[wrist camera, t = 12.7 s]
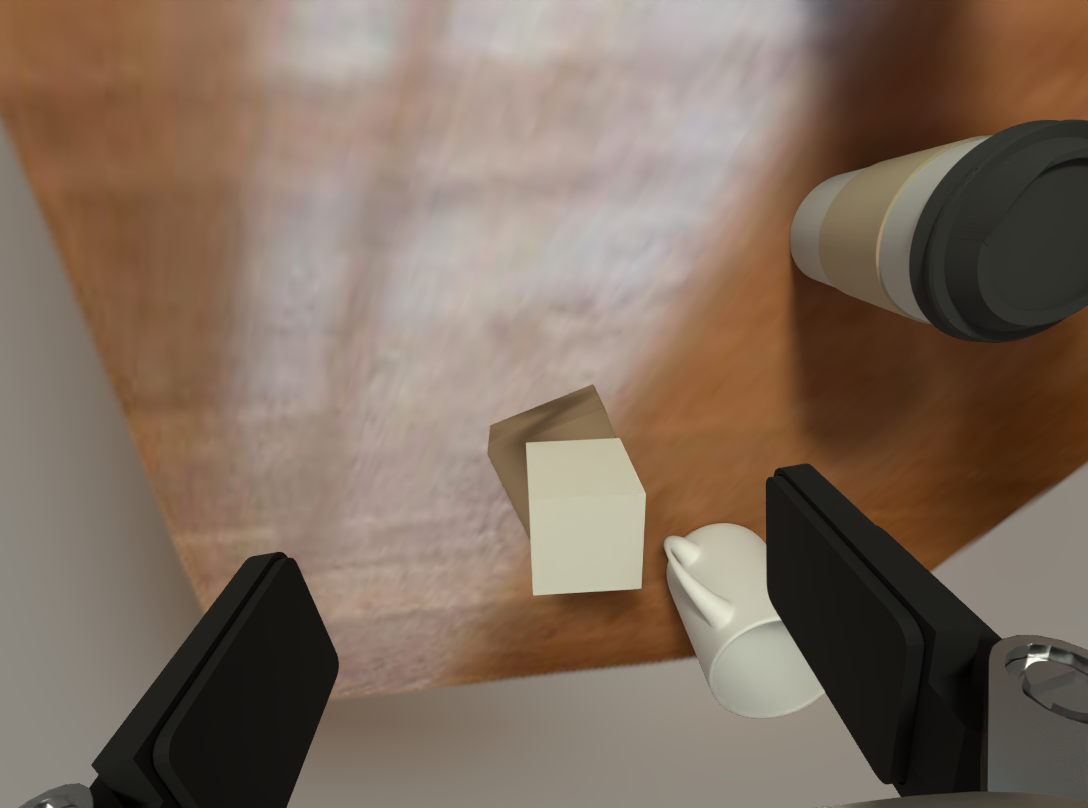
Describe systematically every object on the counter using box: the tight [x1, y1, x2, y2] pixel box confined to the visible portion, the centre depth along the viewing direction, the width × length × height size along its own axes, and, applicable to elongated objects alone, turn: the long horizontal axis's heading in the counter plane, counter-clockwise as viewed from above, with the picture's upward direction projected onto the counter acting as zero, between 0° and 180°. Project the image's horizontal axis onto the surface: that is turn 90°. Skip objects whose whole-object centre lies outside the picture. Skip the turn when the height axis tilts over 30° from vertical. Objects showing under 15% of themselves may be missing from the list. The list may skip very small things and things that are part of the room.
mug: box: [664, 523, 825, 719], centre depth 37 cm, size 9×12×11 cm
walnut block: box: [488, 385, 616, 539], centre depth 36 cm, size 8×8×5 cm
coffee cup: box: [790, 120, 1088, 343], centre depth 27 cm, size 9×9×15 cm
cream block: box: [526, 438, 646, 595], centre depth 31 cm, size 6×6×7 cm
